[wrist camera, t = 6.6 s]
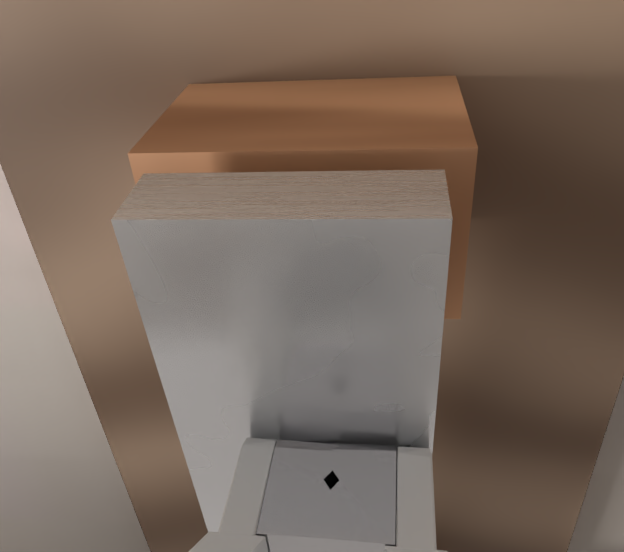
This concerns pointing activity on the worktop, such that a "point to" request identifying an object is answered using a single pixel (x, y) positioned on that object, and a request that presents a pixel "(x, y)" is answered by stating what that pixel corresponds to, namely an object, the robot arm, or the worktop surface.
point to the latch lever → (290, 307)
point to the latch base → (513, 240)
